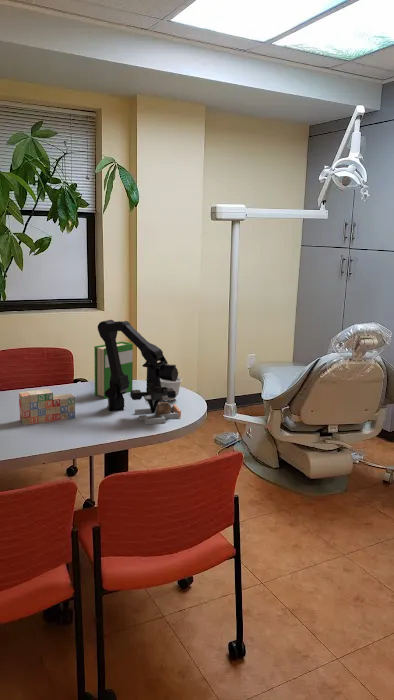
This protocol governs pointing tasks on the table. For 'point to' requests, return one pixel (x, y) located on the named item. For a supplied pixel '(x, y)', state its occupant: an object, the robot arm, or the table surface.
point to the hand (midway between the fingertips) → (152, 413)
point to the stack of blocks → (45, 406)
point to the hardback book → (104, 369)
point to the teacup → (171, 386)
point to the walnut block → (163, 408)
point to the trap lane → (162, 416)
